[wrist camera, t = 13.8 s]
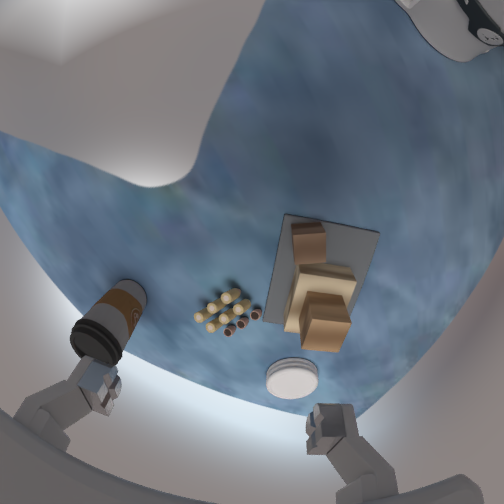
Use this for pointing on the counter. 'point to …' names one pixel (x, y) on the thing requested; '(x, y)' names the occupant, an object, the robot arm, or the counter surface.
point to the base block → (316, 288)
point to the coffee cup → (109, 323)
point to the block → (308, 243)
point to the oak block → (323, 322)
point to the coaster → (292, 378)
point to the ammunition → (227, 313)
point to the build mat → (337, 253)
